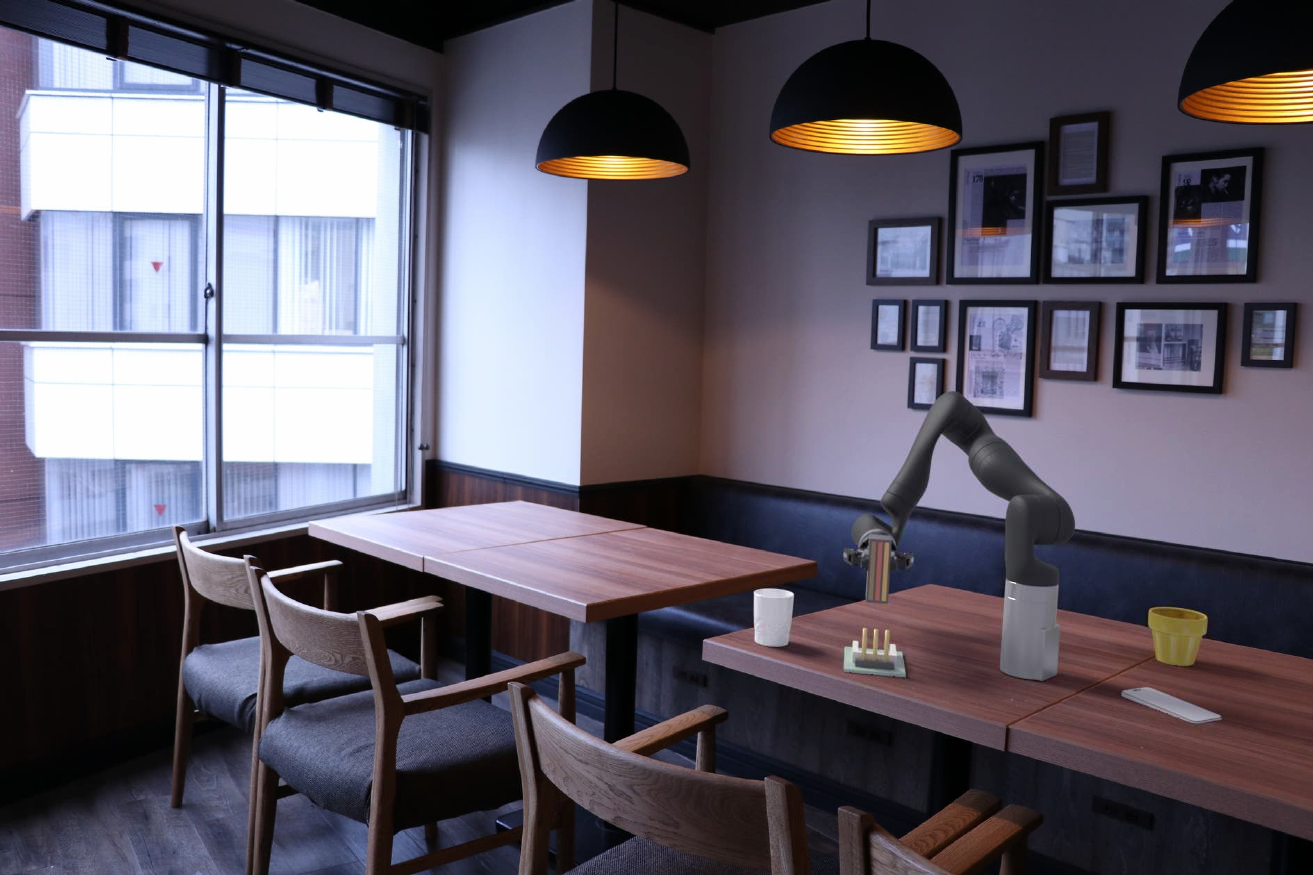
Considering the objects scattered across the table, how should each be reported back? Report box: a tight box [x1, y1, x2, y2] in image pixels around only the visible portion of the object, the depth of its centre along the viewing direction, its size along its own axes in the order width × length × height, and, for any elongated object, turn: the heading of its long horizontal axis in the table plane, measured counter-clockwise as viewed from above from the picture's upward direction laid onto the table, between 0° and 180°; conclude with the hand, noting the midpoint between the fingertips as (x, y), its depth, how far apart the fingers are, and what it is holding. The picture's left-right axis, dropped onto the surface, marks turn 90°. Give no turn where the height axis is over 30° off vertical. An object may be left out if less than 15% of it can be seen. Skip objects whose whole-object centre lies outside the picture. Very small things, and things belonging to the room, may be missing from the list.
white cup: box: [753, 588, 795, 648], centre depth 206 cm, size 8×8×10 cm
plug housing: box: [865, 534, 892, 605], centre depth 195 cm, size 5×4×12 cm
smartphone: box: [1121, 686, 1223, 724], centre depth 176 cm, size 7×1×15 cm
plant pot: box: [1147, 606, 1209, 667], centre depth 204 cm, size 10×10×10 cm
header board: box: [843, 627, 907, 679], centre depth 195 cm, size 15×11×8 cm
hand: (879, 566), depth 192 cm, fingers closed on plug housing, 4 cm apart
